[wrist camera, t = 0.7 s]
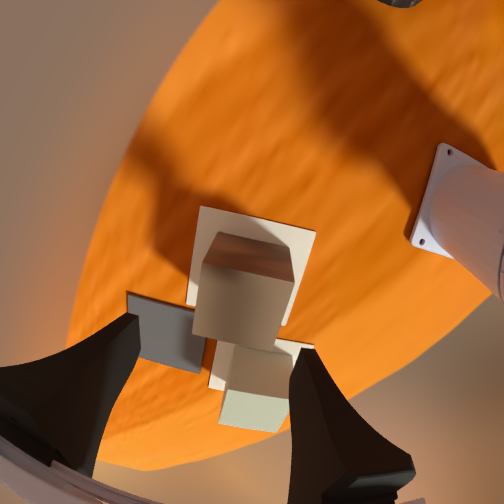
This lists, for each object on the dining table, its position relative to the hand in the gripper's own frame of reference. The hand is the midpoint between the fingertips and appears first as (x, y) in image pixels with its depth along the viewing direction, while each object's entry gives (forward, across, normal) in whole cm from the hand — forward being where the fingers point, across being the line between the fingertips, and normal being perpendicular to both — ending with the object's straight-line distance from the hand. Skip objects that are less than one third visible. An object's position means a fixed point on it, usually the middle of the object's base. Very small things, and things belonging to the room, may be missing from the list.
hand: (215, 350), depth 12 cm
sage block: (+9, -3, +10) cm, 14 cm away
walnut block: (+9, -1, +1) cm, 9 cm away
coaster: (+9, +5, +8) cm, 14 cm away
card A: (+9, -1, +1) cm, 9 cm away
